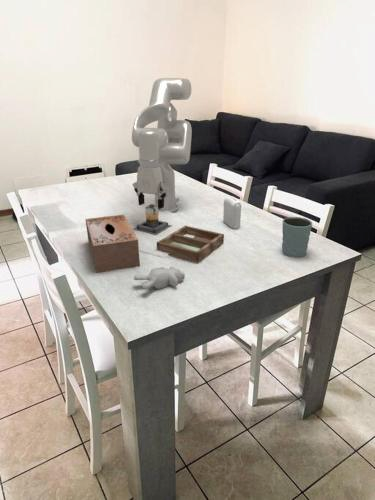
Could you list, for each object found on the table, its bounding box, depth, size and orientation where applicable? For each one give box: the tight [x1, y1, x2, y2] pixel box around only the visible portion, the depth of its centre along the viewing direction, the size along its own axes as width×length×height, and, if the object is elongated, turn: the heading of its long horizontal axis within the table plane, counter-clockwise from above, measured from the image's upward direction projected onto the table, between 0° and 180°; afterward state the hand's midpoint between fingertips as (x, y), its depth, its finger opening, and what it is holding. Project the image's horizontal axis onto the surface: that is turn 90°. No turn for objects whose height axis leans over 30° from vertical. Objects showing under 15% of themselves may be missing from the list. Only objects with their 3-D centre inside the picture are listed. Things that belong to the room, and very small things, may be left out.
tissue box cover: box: [85, 214, 141, 274], centre depth 131 cm, size 26×14×10 cm, turn 20°
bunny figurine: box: [133, 266, 186, 290], centre depth 112 cm, size 10×5×15 cm
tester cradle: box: [132, 220, 173, 236], centre depth 153 cm, size 12×12×2 cm
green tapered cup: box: [281, 216, 313, 258], centre depth 131 cm, size 10×10×12 cm
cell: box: [145, 203, 159, 228], centre depth 151 cm, size 5×5×10 cm
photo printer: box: [222, 195, 242, 230], centre depth 155 cm, size 10×4×12 cm, turn 20°
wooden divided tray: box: [156, 225, 225, 264], centre depth 136 cm, size 20×17×4 cm
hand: (151, 206), depth 148 cm, fingers open, 9 cm apart
